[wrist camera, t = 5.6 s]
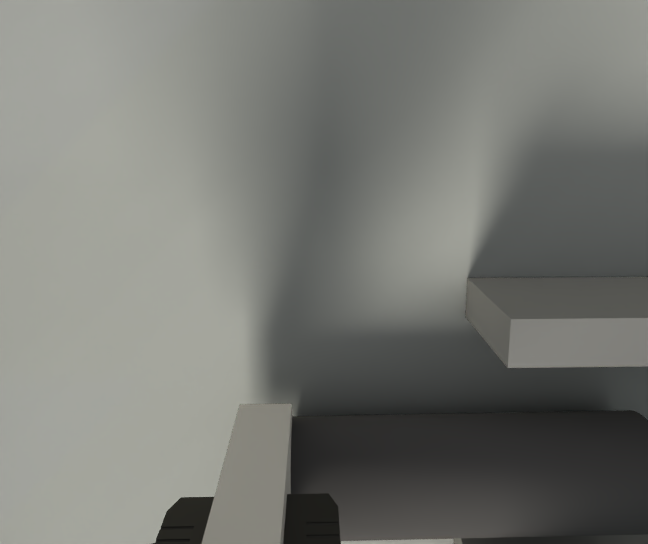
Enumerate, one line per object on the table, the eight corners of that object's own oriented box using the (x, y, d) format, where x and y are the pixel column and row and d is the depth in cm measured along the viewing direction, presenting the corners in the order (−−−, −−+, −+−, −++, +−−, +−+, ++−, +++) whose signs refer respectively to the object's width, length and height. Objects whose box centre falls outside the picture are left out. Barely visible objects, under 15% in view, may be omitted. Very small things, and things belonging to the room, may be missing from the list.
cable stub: (295, 457, 20) (293, 563, 17) (291, 392, 17) (289, 502, 15) (598, 452, 20) (642, 556, 17) (632, 387, 18) (688, 494, 15)
